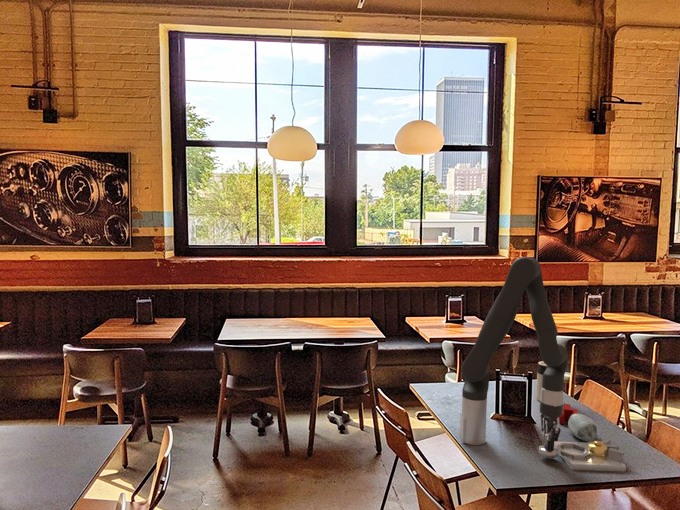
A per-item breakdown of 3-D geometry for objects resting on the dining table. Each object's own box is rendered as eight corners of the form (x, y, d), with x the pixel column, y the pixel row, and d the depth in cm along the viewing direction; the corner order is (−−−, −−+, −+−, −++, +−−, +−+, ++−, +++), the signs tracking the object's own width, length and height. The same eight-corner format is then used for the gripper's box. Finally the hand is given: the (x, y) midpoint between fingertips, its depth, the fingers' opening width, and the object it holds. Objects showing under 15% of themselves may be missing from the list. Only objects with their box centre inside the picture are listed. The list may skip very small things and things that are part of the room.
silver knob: (541, 457, 180) (543, 438, 179) (536, 449, 186) (537, 430, 186) (560, 458, 179) (561, 439, 179) (554, 450, 186) (555, 431, 185)
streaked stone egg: (606, 437, 195) (592, 412, 197) (582, 447, 195) (569, 422, 198) (595, 432, 208) (582, 408, 210) (573, 441, 208) (560, 418, 211)
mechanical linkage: (578, 427, 212) (578, 416, 212) (559, 425, 215) (559, 413, 214) (575, 414, 227) (575, 403, 227) (557, 412, 230) (558, 401, 229)
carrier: (568, 469, 176) (568, 451, 175) (549, 446, 194) (549, 430, 193) (629, 471, 175) (630, 454, 174) (605, 448, 193) (606, 432, 192)
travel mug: (557, 403, 240) (558, 365, 239) (539, 403, 240) (541, 365, 239) (550, 397, 248) (551, 361, 247) (533, 397, 248) (535, 360, 247)
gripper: (534, 393, 189) (531, 439, 190) (547, 407, 175) (544, 456, 176) (555, 394, 188) (552, 440, 189) (570, 408, 174) (566, 458, 175)
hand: (548, 448), depth 183 cm, fingers closed on silver knob, 3 cm apart
